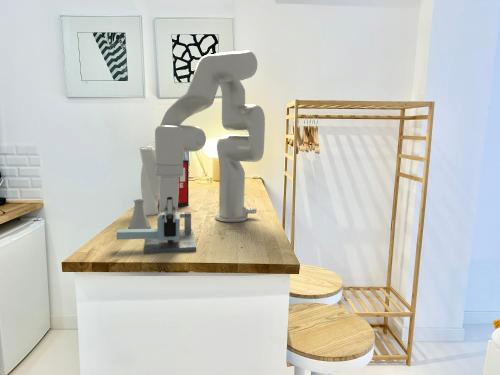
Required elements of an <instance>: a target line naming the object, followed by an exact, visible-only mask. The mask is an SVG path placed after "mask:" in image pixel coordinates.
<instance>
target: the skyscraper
mask: <svg viewBox="0 0 500 375" xmlns="http://www.w3.org/2000/svg"><path fill="white" fill-rule="evenodd" d="M152 145H155V141H154V142H151V143H150V144H149V145H148V146H147V145H146V146H141V147H140V148H139V152H140V158H141V162H142V163H141V164H142V166H141V171H140V172H141V173H140V192H141V199H143V200H144V202H143V207H144V211H145V214H146V216H153V215H159V214H161V212H160V211H159V209H158V206H159V204H158V202H159V179H160V177H158V176H156V161H155V146H152Z"/></svg>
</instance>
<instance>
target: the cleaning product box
mask: <svg viewBox="0 0 500 375" xmlns="http://www.w3.org/2000/svg"><path fill="white" fill-rule="evenodd" d="M189 198H190V195H189V160H188V159H183V176H181V177H179V197H178V208H181V207H188V206H189V205H190V204H189V202H190V201H189V200H190V199H189ZM158 205H159V202H158Z"/></svg>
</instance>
